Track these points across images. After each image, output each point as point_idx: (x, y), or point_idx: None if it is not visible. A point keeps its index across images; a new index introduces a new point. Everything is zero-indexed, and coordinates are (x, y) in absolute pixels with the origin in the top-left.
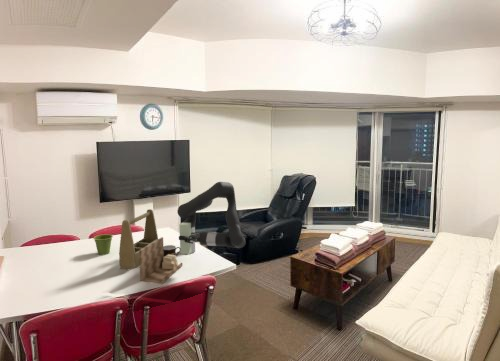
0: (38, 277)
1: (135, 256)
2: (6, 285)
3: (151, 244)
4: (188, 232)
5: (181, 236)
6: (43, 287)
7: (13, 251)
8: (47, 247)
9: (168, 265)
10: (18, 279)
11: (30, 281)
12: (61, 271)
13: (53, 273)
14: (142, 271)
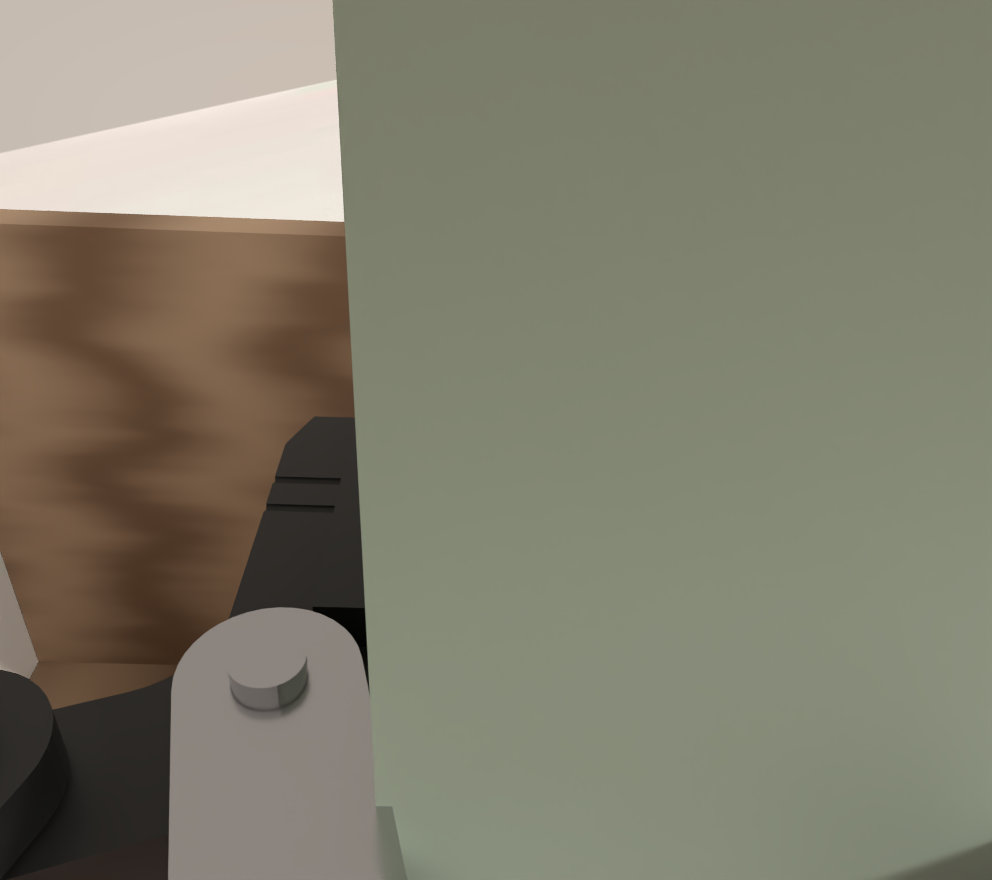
0: (230, 160)
1: None
2: (124, 129)
3: (296, 234)
4: (512, 549)
5: (351, 457)
6: (73, 207)
7: None
8: None
9: None
10: (201, 130)
11: (172, 158)
12: (329, 187)
13: (294, 176)
14: (19, 554)
